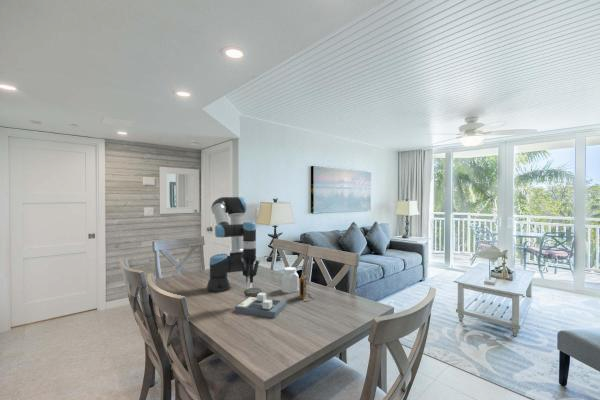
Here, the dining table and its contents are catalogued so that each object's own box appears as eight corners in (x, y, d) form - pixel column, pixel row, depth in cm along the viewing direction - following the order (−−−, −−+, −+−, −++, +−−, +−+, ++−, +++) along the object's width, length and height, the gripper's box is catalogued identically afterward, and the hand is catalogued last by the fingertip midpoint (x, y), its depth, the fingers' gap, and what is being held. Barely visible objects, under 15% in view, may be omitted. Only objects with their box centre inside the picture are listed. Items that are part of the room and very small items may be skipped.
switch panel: (235, 311, 153) (235, 305, 153) (249, 301, 169) (249, 296, 169) (274, 317, 146) (274, 311, 146) (286, 306, 161) (286, 300, 161)
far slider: (257, 300, 161) (256, 294, 161) (260, 298, 165) (260, 292, 165) (263, 301, 160) (263, 295, 159) (266, 299, 163) (266, 293, 163)
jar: (293, 287, 196) (293, 265, 196) (300, 291, 188) (301, 268, 188) (279, 289, 190) (279, 268, 190) (286, 294, 182) (286, 271, 182)
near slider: (262, 308, 150) (262, 301, 150) (265, 305, 153) (265, 299, 153) (269, 309, 148) (269, 302, 148) (272, 306, 152) (272, 300, 152)
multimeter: (314, 302, 167) (314, 269, 167) (298, 301, 169) (298, 268, 169) (318, 294, 181) (318, 263, 181) (303, 293, 183) (303, 263, 183)
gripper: (236, 248, 163) (236, 288, 163) (256, 249, 159) (256, 290, 159) (243, 246, 170) (243, 285, 170) (262, 247, 166) (262, 287, 166)
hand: (249, 287), depth 164 cm, fingers closed
